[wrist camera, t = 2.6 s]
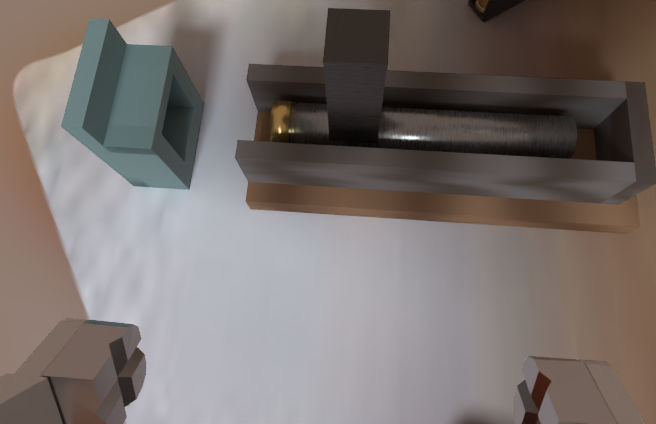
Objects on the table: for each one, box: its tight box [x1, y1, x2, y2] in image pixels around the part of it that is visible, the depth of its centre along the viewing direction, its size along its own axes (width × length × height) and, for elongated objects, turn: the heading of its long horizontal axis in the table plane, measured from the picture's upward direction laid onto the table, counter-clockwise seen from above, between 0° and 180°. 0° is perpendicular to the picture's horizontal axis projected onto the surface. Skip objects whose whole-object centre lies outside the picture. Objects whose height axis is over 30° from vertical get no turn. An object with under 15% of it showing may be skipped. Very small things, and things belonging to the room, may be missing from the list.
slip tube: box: [270, 8, 577, 159], centre depth 23 cm, size 16×3×10 cm, turn 86°
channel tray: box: [235, 64, 656, 233], centre depth 28 cm, size 22×9×5 cm, turn 86°
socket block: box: [61, 18, 204, 189], centre depth 27 cm, size 4×6×8 cm, turn 175°
